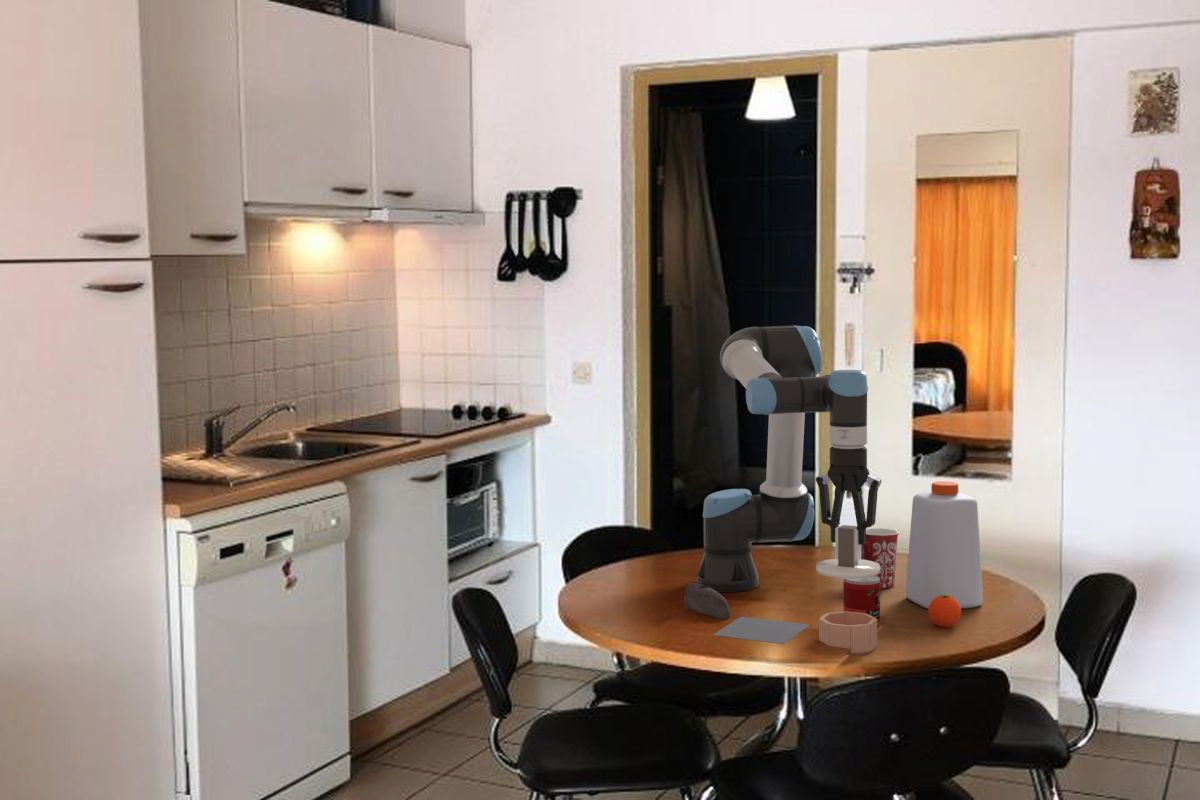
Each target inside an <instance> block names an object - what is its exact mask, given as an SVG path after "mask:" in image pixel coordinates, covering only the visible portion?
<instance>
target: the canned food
mask: <svg viewBox="0 0 1200 800" xmlns="http://www.w3.org/2000/svg"><path fill="white" fill-rule="evenodd" d="M842 587H843V588H842V591H843V593H842V594H843V598H842V599H843V603H842V604H843V607H842V608H843V611H848V612H857V613H866V614H869V615H871V616H872V617H874V618H876V619H877V630H878V629H879V628H880V624H879V623H881V589H880V578H879V577H877V576H872V577H867V578H843V585H842ZM843 611H842V612H843ZM878 624H879V625H878Z"/></svg>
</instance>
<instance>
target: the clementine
mask: <svg viewBox="0 0 1200 800" xmlns="http://www.w3.org/2000/svg"><path fill="white" fill-rule="evenodd" d="M928 616H929V618H930V620H931V621H932V623H934V625H936V626H939V627H941V628H950V627H953V626H955V625H957V623H958V622H959V621H960V618H961V617H962V609H961V607H960V605H959V603H958V601H957V600H956V599H954V598H953V597H951V596H948V595H946V594H940V596H937V597H936V598H934V599H933V600H932V602H931V603H930V605H929V609H928Z"/></svg>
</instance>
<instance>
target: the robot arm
mask: <svg viewBox="0 0 1200 800" xmlns="http://www.w3.org/2000/svg"><path fill="white" fill-rule="evenodd" d="M822 355H823V354H822V349H821V343H820V340H819V337H818V335H817V332H816V331H815V330H814V329H813V328H812V327H810V326H807V325H803V326H802V325H796V324H795V325H777V326H776V325H775V326H751V327H745V328H742V329H740V330H738V331H735V332H733V334H731V335H730V336H729V337H727V339H726V340H725V342H724V343H723V345H722V346H721V349H720V353H719V361H720V365H721V367H722V369H723V371H724V372H725V373H726V374H727V375H728V376H729V377H730V378H732V379H735V380H738V381H739V382H740V384H741V385H742V386H743V388H745V400H746V401H745V402H746V405H747V410H748V412H749V413H750V414H753V415H766V416H768V429H767V434H768V435H767V453H766V454H767V455H766V456H767V457H766V474H765V475H766V479H765V481H764V482H763V483H761V484H760V486H759V494H752V492H751V490H749V489H747V488H730V489H723V490H720V491H715V492H713V493H710V494H709V495H707V496H706V497H705V498H704V501H703V511H702V518H703V556H702V560H701V562H700V566H699V569H698V572H697V576H696V583H699V584H702V585H705V586H708V587H710V588H712V589H713V590H715V591H716V592H718V593H738V592H746V591H751V590H754V589H756V588H758V587H759V586H760V585H759V579H760V578H759V574H758V571H757V568H756V567H757V566H756V565H755V562H754V558H753V555H752V543H771V542H772V543H773V542H788V543H789V542H790V543H791V542H793V541H802V540H804V539H806V538H807V537H808V536H809V535H810V533H811V531H812V528H813V525H814V520H815V502H814V498H813V496H812V495H811V493H809V492H808V487H806V485H805V484H804V483H803V482H802V479H803V459H804V458H803V457H804V440H805V439H804V438H805V437H804V435H805V419H806V417H805V415H806V413H807V414H808V413H812V414H813V413H829V444H830V445H831V447H829V469H828V470H827V473H824V474H821V475H818V476H816V478H815V482H816V485H817V486H818V489H819V491H818V493H819V503H820V514H821V515H820V517H821V523H823V524H824V525H828V526H829V527H830V541H831V543H834V545H835V548H834V549H835V551H834V553H835V554H834V555H835V556H834V559H836V560H838V528H839V527H841V526H842V525H840V524H841V522H840V521H841V516H842V515H841V514H842V510H843V503H844V496H845V494H846V492H850V493H851V497H852V502H853V508H854V514H855V521H856V526H857V528H856V529H854V561H859V560H860V559H861V545H863V544H865V542H866V529H869V528H872V526H874V525H875V524H876V517H877V506H878V504H877V503H878V493H879V492H878V491H879V488H880V486H881V484H882V479H881V478H880V477H878V478H876V477H874V476H872V475H870V472H869V470H868V448H867V447H866V445H867V444H868V390H869V387H868V379H867V378H868V377H867V376H868V375H867V374H866V372H865V371H863V370H861V369H860V370H858V369H838V370H837V369H836V370H835V369H834V370H833V371H831V372H830V374H824V375H821V376H817V375H820V374H821V372H822V368H823V356H822ZM830 481H831V483H832V484H833V486H834V491H833V493H834V494H833V495H834V497H833V504H832V510H831V503H830V502H831V500H830V490H829V489H830V488H829V483H830ZM866 481H867V487H868V488H869V489H868V494H867V505H866V514H865V505H864V501H863V489H862V487H863V486H864V484H865V483H866Z"/></svg>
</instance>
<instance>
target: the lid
mask: <svg viewBox="0 0 1200 800" xmlns="http://www.w3.org/2000/svg"><path fill="white" fill-rule="evenodd" d="M840 526H841V527H839V528H838V560H836V559H835V558H829V559H824V560H821V561H818V562H817V563H816V565H815V567H816V569H815V572H816V573H817V574H819V575H821V576H826V577H829V578H837V579H844V578H867V577H872V576H876V575H878V574H880V564H878V563H876V562H873V561H869V560H862V559H860V560H859V561H854V529H856V528H857V525H847V524H843V525H840Z"/></svg>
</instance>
